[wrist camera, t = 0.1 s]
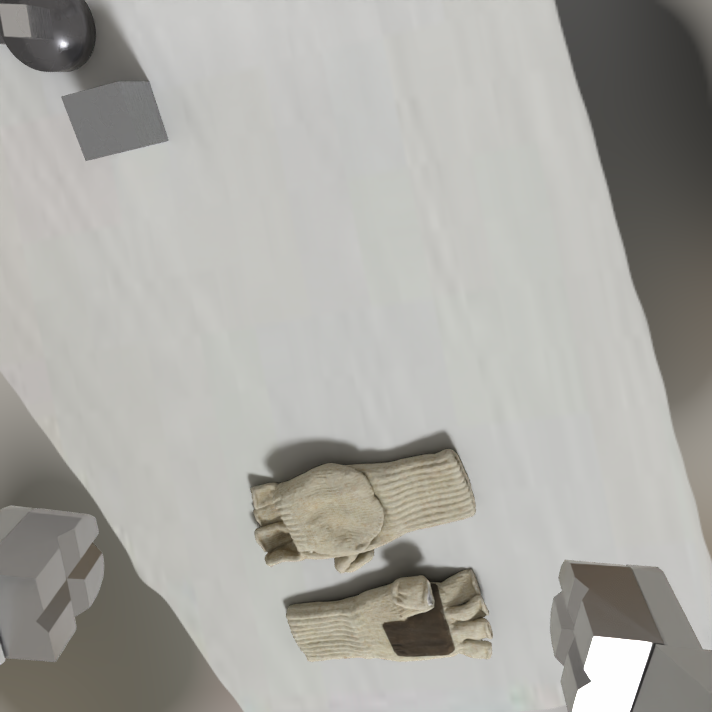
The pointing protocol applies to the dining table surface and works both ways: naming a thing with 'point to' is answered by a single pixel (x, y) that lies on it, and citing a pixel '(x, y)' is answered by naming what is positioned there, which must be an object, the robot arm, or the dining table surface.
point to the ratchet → (48, 33)
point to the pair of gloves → (356, 548)
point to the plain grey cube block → (115, 118)
